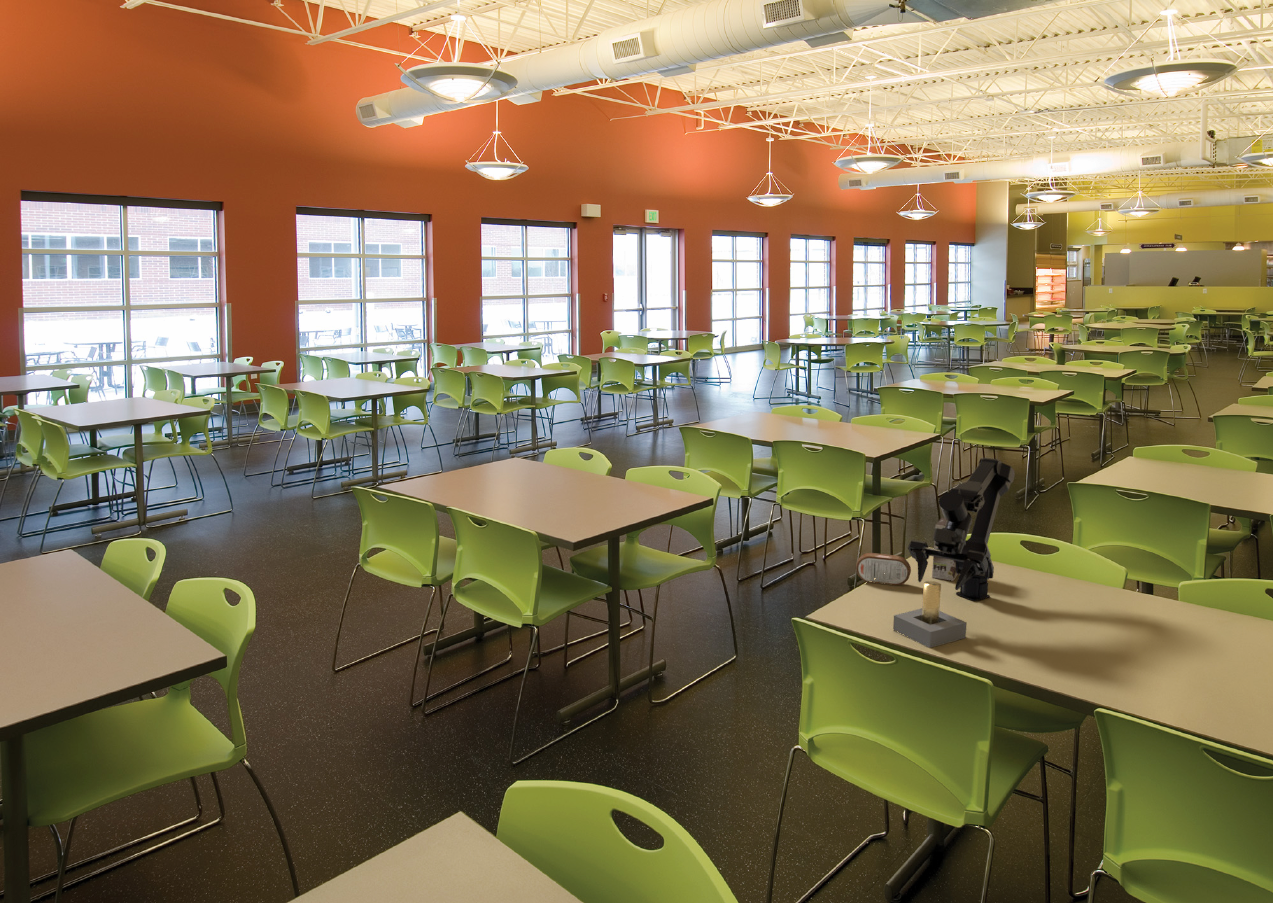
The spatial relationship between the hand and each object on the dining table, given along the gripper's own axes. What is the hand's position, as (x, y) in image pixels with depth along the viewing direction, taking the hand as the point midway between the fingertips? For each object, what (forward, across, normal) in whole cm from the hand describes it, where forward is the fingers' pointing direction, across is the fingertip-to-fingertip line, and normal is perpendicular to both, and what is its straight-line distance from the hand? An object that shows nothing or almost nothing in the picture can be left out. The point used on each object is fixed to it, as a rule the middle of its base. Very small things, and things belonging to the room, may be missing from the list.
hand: (937, 585), depth 225 cm
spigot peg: (+11, 0, +5) cm, 12 cm away
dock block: (+11, 0, +5) cm, 12 cm away
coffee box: (-21, -12, +38) cm, 45 cm away
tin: (-8, -24, +25) cm, 36 cm away
